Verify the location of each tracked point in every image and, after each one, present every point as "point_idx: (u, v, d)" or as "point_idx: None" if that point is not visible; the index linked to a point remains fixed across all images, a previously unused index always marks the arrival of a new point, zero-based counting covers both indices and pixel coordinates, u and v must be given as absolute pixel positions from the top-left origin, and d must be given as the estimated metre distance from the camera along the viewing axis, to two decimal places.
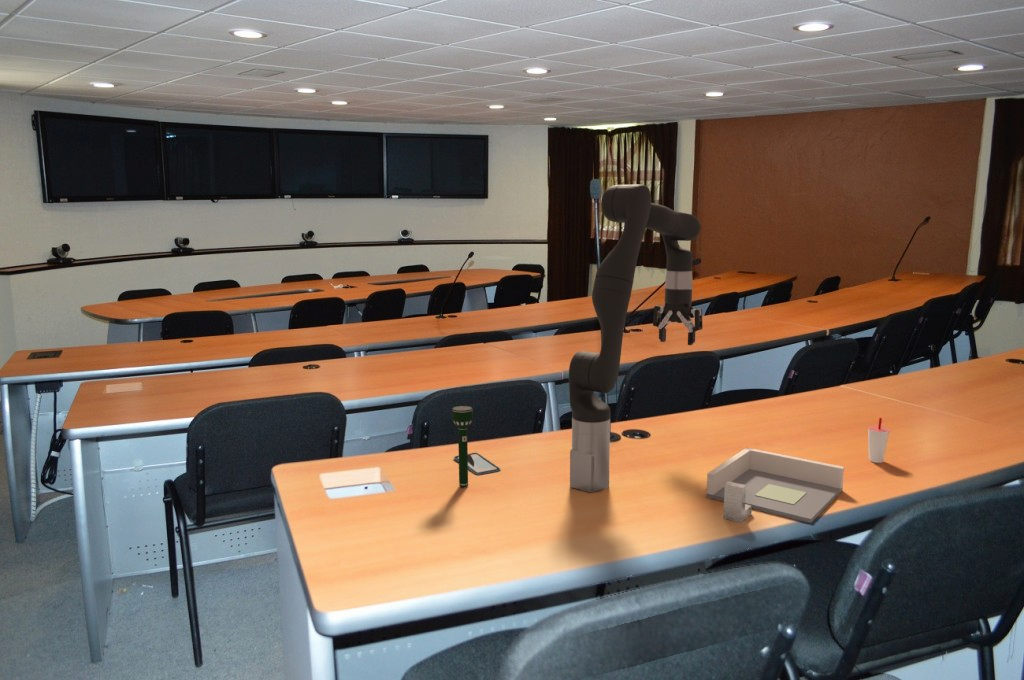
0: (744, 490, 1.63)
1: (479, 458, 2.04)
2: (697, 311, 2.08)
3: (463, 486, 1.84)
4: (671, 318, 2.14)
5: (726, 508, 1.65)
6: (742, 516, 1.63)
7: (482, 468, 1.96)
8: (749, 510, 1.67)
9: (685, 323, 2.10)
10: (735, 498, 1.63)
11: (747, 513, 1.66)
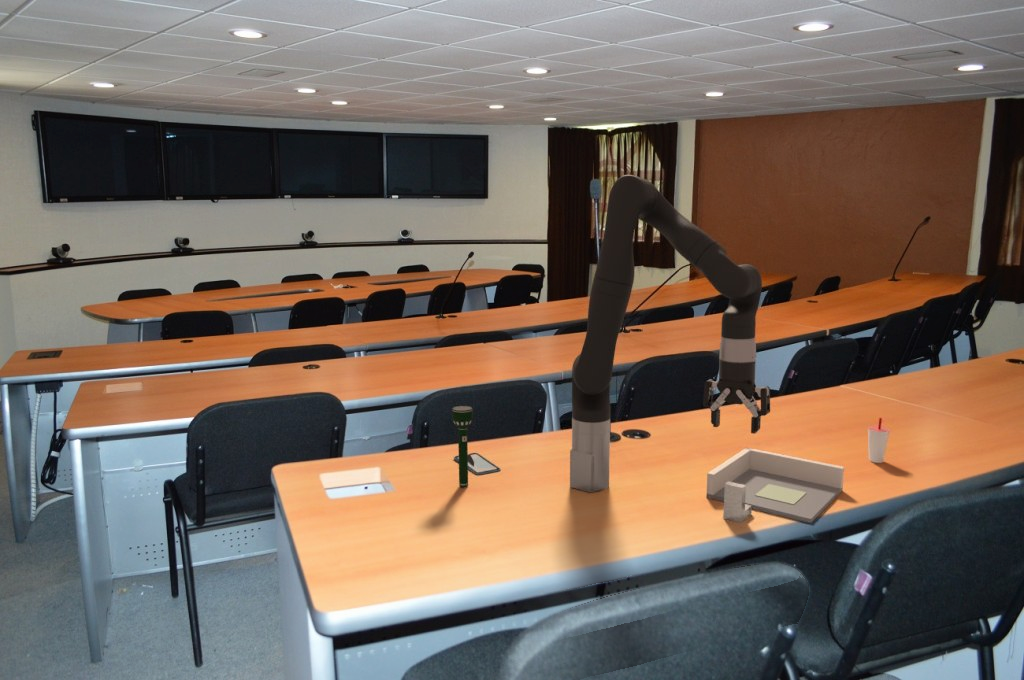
0: (744, 490, 1.63)
1: (479, 458, 2.04)
2: (764, 390, 1.59)
3: (463, 486, 1.84)
4: (728, 398, 1.64)
5: (726, 508, 1.65)
6: (742, 516, 1.63)
7: (482, 468, 1.96)
8: (749, 510, 1.67)
9: (748, 405, 1.61)
10: (735, 498, 1.63)
11: (747, 513, 1.66)
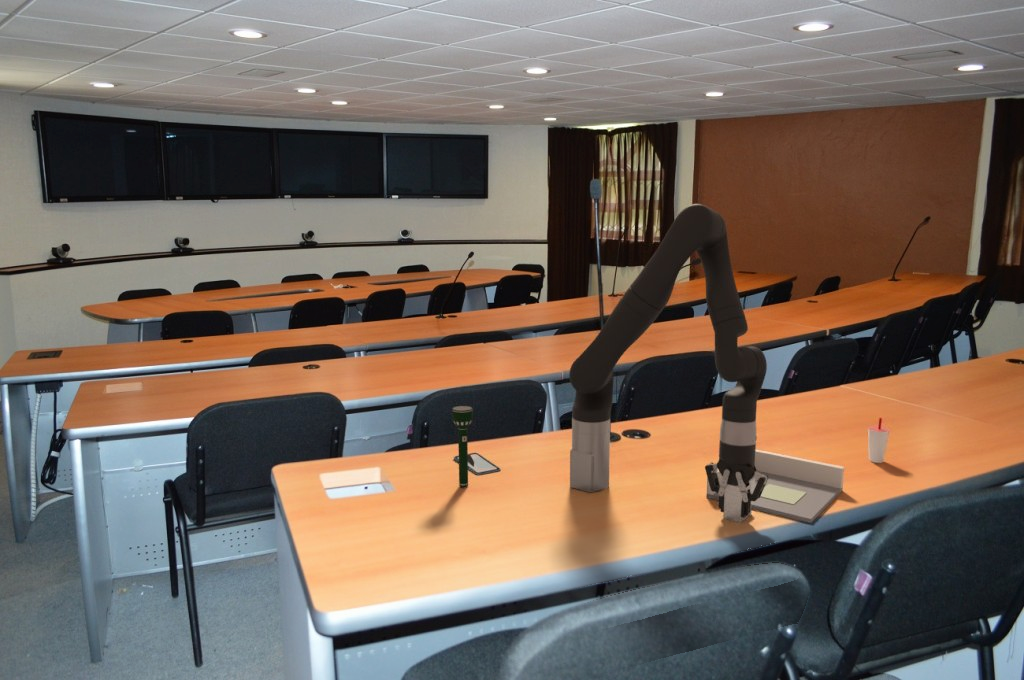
0: None
1: (479, 458, 2.04)
2: (762, 480, 1.58)
3: (463, 486, 1.84)
4: (730, 478, 1.63)
5: (726, 508, 1.65)
6: None
7: (482, 468, 1.97)
8: None
9: (741, 489, 1.61)
10: (735, 498, 1.63)
11: None
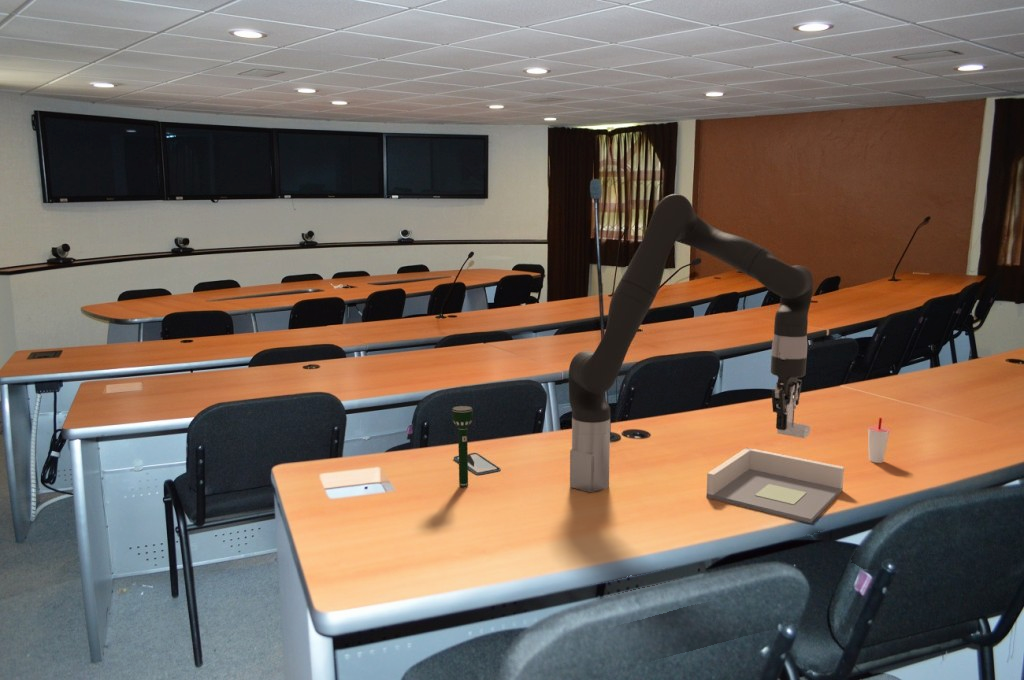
0: None
1: (479, 458, 2.04)
2: (771, 391, 1.68)
3: (463, 486, 1.84)
4: None
5: None
6: None
7: (482, 468, 1.97)
8: (798, 431, 1.70)
9: None
10: None
11: (794, 432, 1.70)
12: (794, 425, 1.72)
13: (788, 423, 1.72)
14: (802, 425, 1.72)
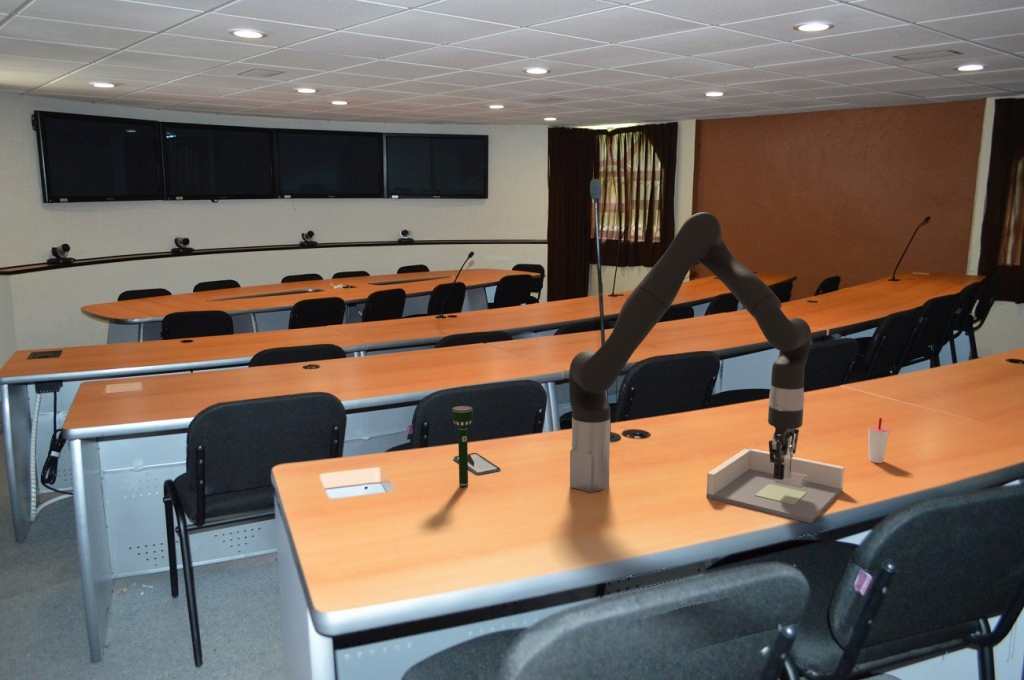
0: None
1: (479, 458, 2.04)
2: (769, 443, 1.70)
3: (463, 486, 1.84)
4: None
5: None
6: None
7: (482, 468, 1.97)
8: (795, 481, 1.72)
9: None
10: None
11: (791, 482, 1.73)
12: (792, 475, 1.74)
13: (785, 472, 1.74)
14: (799, 474, 1.74)
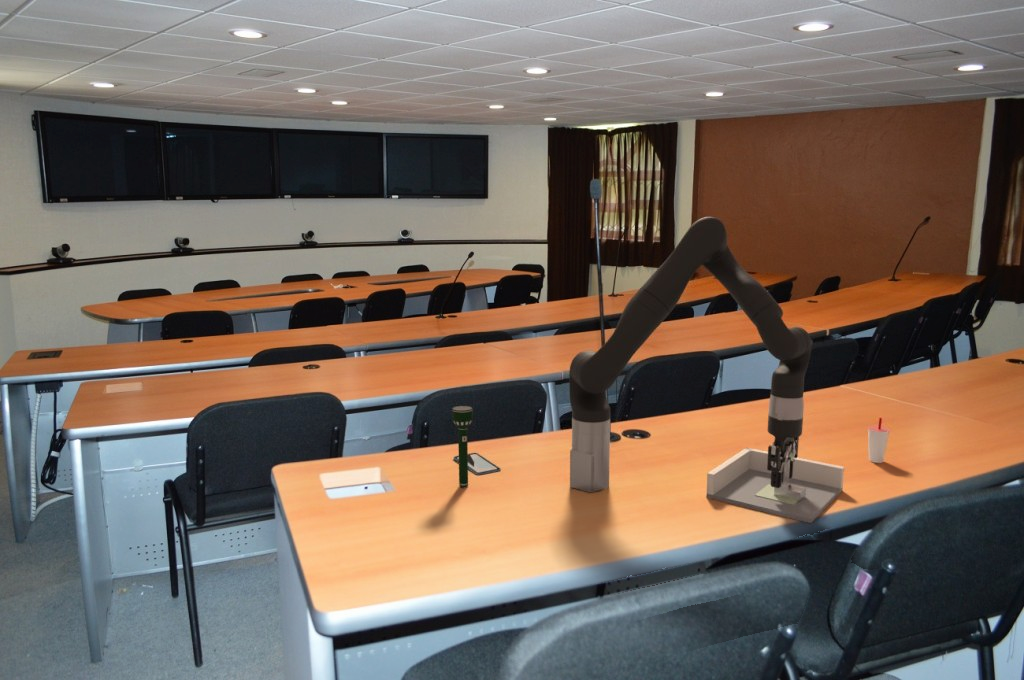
0: None
1: (479, 458, 2.04)
2: None
3: (463, 486, 1.84)
4: None
5: None
6: (776, 490, 1.75)
7: (482, 468, 1.97)
8: (794, 494, 1.72)
9: None
10: None
11: (790, 495, 1.73)
12: (791, 488, 1.74)
13: (784, 485, 1.75)
14: (798, 487, 1.75)
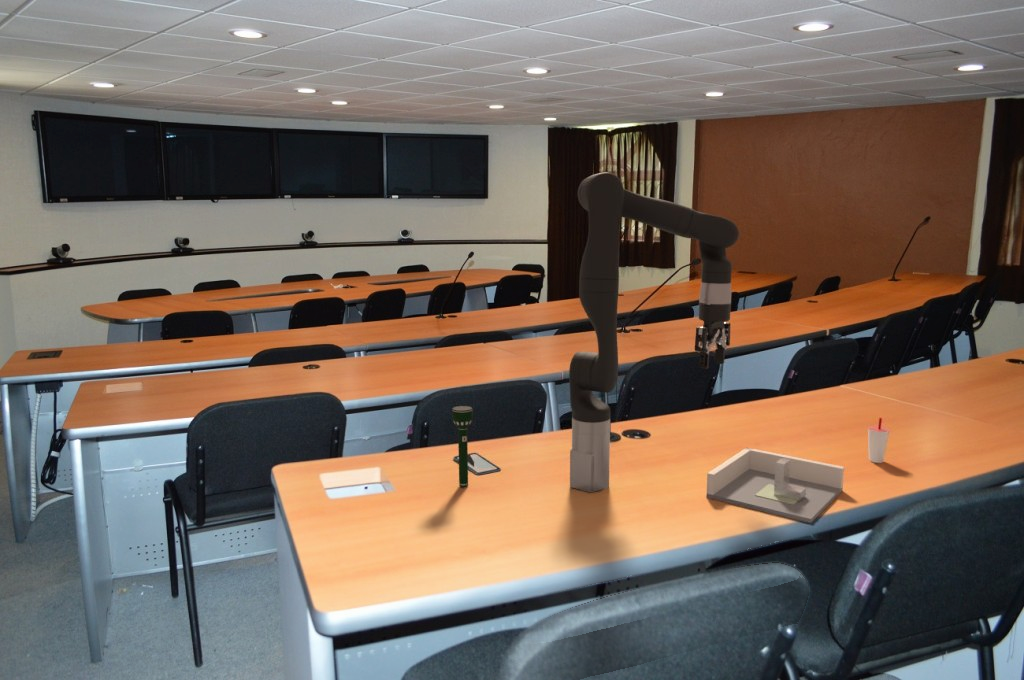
0: (780, 467, 1.73)
1: (479, 458, 2.04)
2: None
3: (463, 486, 1.84)
4: None
5: None
6: (776, 490, 1.75)
7: (482, 468, 1.97)
8: (794, 494, 1.72)
9: None
10: None
11: (790, 495, 1.73)
12: (791, 488, 1.74)
13: (784, 485, 1.75)
14: (798, 487, 1.75)
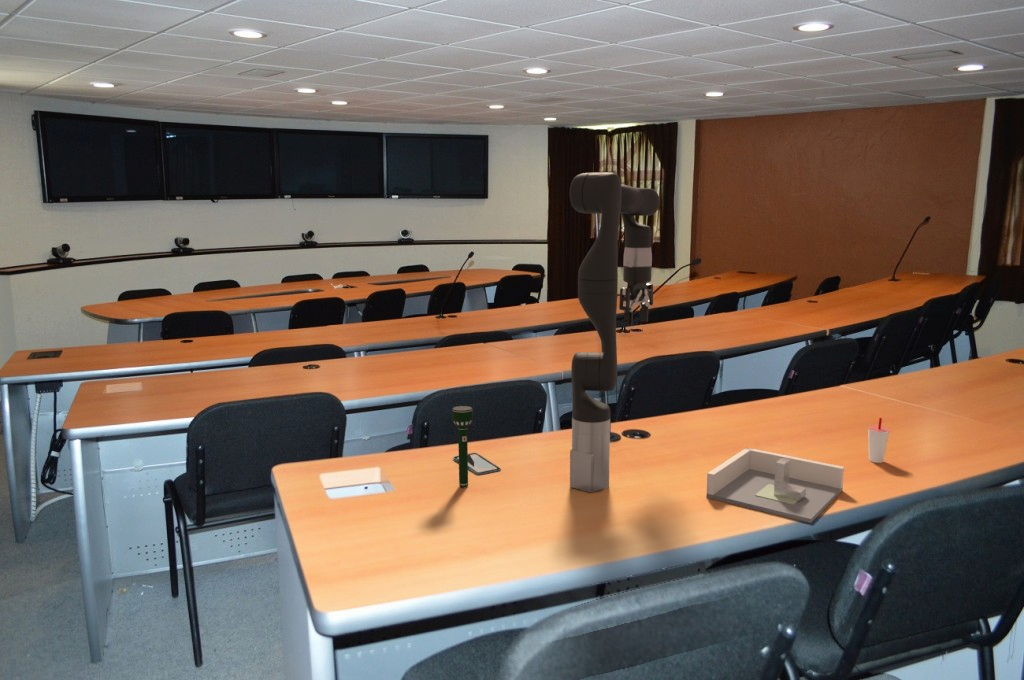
0: (780, 467, 1.73)
1: (479, 458, 2.04)
2: None
3: (463, 486, 1.84)
4: None
5: None
6: (776, 490, 1.75)
7: (482, 468, 1.97)
8: (794, 494, 1.72)
9: None
10: None
11: (790, 495, 1.73)
12: (791, 488, 1.74)
13: (784, 485, 1.75)
14: (798, 487, 1.75)
